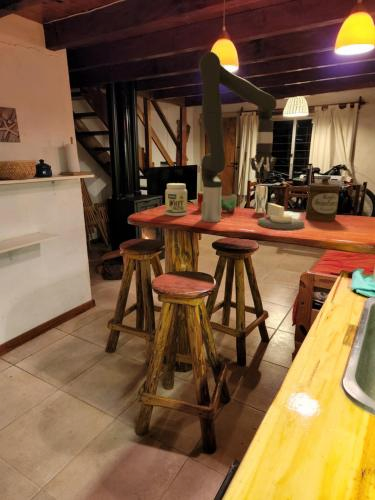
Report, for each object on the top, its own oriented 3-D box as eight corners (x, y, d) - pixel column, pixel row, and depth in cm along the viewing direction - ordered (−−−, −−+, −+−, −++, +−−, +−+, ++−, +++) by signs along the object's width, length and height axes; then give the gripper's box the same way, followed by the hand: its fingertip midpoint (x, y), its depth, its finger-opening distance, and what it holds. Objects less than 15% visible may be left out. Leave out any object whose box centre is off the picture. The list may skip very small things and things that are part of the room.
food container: (229, 214, 179) (230, 196, 176) (220, 213, 183) (220, 196, 180) (240, 211, 188) (241, 194, 185) (231, 210, 192) (231, 193, 189)
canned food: (206, 212, 186) (207, 193, 183) (194, 210, 190) (195, 192, 187) (212, 210, 193) (213, 191, 189) (201, 208, 197) (201, 190, 193)
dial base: (271, 230, 143) (272, 227, 143) (250, 220, 164) (250, 217, 163) (313, 228, 149) (314, 224, 148) (287, 218, 169) (288, 215, 169)
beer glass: (259, 213, 182) (261, 187, 177) (251, 211, 188) (253, 186, 183) (268, 212, 185) (270, 186, 180) (260, 210, 191) (262, 185, 186)
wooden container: (312, 221, 162) (317, 177, 156) (301, 216, 177) (305, 175, 170) (340, 221, 163) (347, 178, 157) (327, 215, 177) (332, 175, 171)
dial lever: (295, 222, 152) (297, 208, 150) (277, 223, 150) (278, 209, 148) (276, 215, 169) (277, 202, 167) (259, 216, 166) (260, 203, 164)
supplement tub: (166, 216, 173) (165, 185, 168) (164, 212, 184) (164, 183, 179) (188, 216, 174) (188, 185, 169) (185, 212, 186) (185, 182, 181)
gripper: (254, 142, 147) (251, 180, 152) (281, 142, 150) (278, 179, 155) (247, 142, 153) (245, 178, 159) (273, 142, 157) (270, 178, 162)
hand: (261, 179), depth 157 cm, fingers open, 3 cm apart
